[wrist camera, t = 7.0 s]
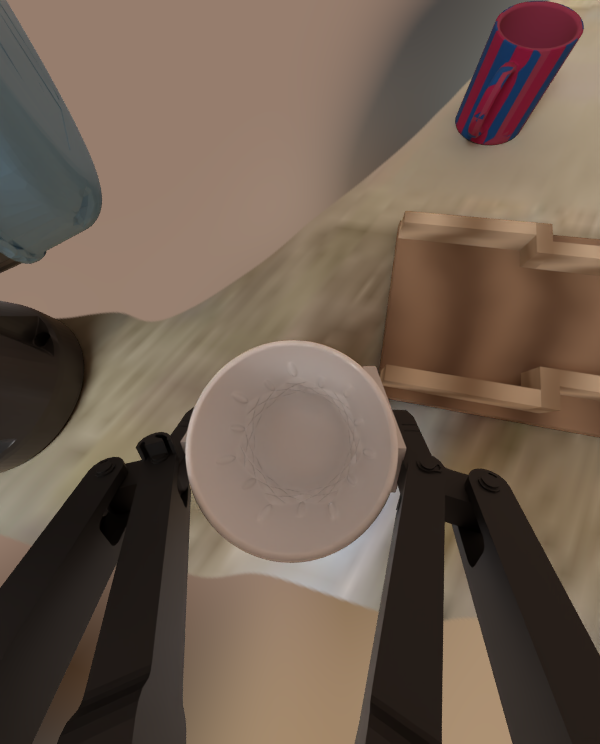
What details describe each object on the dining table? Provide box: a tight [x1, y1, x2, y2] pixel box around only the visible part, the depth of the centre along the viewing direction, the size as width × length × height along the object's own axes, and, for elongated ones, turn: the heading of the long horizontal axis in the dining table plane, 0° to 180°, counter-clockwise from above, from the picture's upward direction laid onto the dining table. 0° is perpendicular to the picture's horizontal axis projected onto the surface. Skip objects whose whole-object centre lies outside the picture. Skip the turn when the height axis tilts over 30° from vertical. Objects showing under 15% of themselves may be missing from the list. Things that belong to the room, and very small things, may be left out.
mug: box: [455, 1, 584, 145], centre depth 24 cm, size 7×10×7 cm
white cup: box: [185, 340, 398, 563], centre depth 14 cm, size 8×8×10 cm
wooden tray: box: [379, 211, 600, 438], centre depth 20 cm, size 24×17×3 cm
